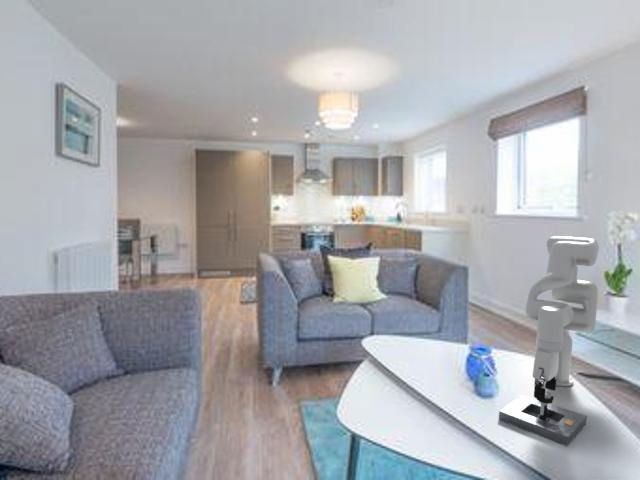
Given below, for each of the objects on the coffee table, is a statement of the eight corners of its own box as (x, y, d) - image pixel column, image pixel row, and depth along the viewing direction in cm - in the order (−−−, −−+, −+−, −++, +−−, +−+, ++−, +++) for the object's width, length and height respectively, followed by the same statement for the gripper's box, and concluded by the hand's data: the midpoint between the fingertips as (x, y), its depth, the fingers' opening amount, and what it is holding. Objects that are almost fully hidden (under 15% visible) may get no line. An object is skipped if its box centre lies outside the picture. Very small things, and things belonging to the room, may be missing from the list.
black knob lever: (546, 429, 142) (549, 399, 141) (529, 422, 146) (532, 393, 145) (554, 422, 147) (556, 393, 145) (537, 415, 150) (539, 388, 149)
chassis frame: (521, 401, 160) (522, 393, 160) (586, 424, 145) (587, 415, 145) (498, 419, 147) (499, 410, 147) (567, 446, 132) (568, 436, 132)
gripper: (546, 335, 152) (542, 382, 154) (526, 347, 140) (522, 398, 142) (570, 341, 147) (565, 389, 149) (551, 354, 135) (547, 406, 137)
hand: (544, 393), depth 146 cm, fingers open, 9 cm apart
